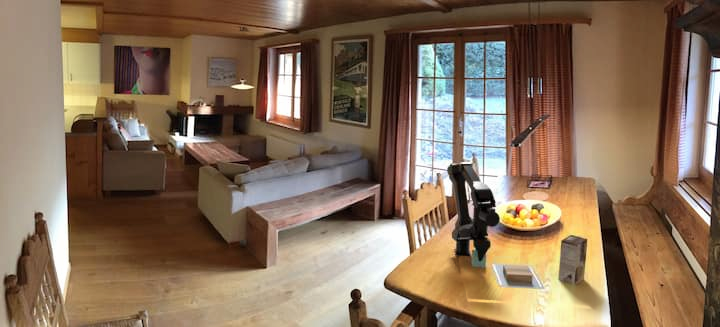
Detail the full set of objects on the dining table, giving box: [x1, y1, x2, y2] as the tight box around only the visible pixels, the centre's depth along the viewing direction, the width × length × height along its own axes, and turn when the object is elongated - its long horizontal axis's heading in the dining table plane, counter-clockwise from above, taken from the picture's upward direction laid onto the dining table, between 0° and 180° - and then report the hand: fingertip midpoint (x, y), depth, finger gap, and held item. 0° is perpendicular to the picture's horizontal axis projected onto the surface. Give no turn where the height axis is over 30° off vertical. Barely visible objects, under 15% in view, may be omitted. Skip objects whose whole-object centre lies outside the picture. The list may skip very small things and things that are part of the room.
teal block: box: [470, 249, 487, 268], centre depth 197 cm, size 5×5×6 cm
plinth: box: [503, 264, 533, 283], centre depth 185 cm, size 9×9×3 cm
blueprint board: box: [490, 263, 546, 290], centre depth 187 cm, size 22×16×1 cm
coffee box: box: [557, 234, 588, 286], centre depth 183 cm, size 9×6×16 cm
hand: (478, 256), depth 197 cm, fingers open, 9 cm apart
